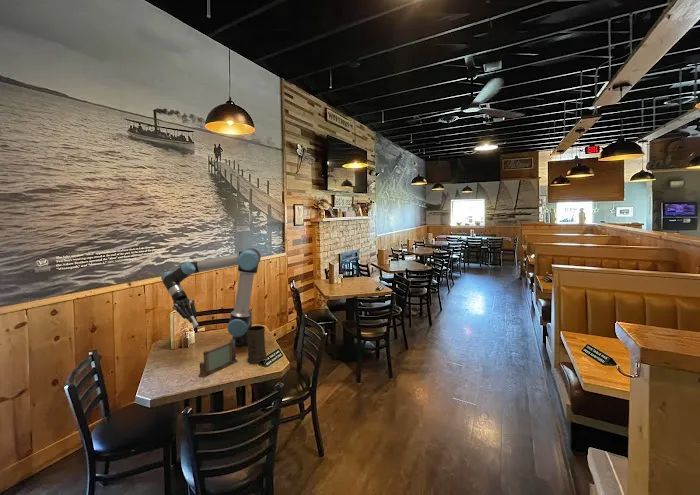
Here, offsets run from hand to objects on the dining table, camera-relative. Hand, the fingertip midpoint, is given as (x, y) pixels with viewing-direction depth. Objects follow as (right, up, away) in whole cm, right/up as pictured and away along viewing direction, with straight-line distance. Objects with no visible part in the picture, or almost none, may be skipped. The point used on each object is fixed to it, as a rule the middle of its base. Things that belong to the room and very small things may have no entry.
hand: (196, 326), depth 194 cm
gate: (+15, -21, -5) cm, 26 cm away
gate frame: (+15, -22, -5) cm, 28 cm away
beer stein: (+33, -21, +8) cm, 40 cm away
